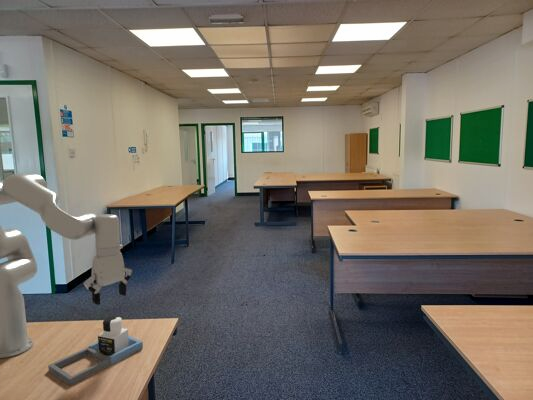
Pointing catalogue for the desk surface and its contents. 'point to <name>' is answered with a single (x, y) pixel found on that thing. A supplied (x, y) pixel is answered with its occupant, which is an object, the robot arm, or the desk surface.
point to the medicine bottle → (112, 336)
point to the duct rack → (92, 352)
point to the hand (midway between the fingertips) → (110, 299)
